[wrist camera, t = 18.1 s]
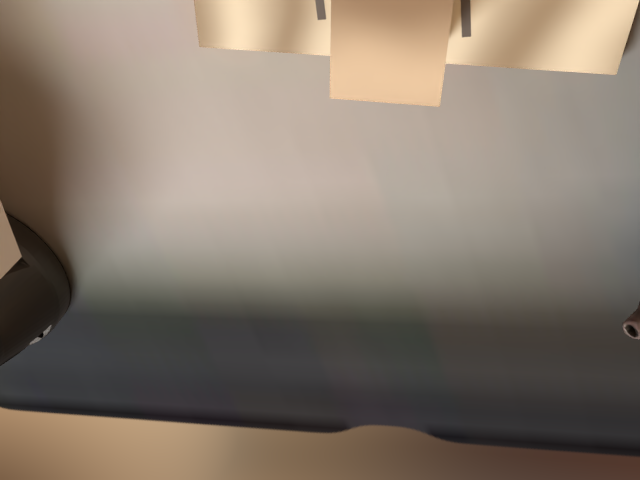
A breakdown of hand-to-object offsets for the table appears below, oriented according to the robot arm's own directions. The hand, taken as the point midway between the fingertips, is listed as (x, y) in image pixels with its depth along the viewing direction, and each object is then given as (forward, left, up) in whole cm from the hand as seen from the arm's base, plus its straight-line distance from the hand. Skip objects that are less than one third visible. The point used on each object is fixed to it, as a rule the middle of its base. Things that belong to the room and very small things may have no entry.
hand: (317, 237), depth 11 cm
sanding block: (0, 0, -25) cm, 25 cm away
